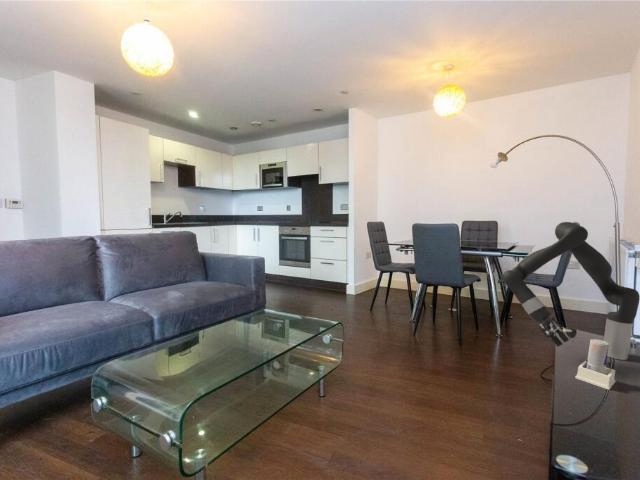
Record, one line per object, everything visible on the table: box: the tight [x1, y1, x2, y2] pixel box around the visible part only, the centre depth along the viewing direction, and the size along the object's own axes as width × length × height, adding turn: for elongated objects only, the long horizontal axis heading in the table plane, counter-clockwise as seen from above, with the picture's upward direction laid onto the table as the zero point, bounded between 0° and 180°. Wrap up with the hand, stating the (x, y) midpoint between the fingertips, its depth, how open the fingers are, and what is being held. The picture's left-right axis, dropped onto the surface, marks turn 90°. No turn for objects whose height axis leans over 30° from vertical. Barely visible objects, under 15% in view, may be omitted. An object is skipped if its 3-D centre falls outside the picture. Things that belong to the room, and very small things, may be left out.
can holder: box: [574, 360, 616, 390], centre depth 132 cm, size 10×10×5 cm
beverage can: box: [586, 338, 609, 374], centre depth 132 cm, size 6×6×15 cm
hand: (563, 343), depth 141 cm, fingers open, 8 cm apart
